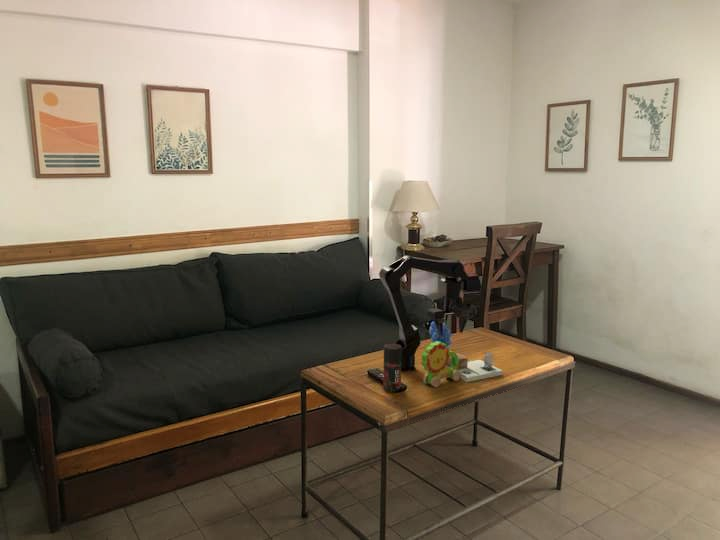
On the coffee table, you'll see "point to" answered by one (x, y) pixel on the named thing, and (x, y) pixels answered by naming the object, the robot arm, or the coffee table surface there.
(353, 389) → the coffee table surface
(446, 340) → the grapes
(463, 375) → the board
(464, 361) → the brown wooden block
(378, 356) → the coffee table surface
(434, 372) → the toy lion
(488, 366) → the pin
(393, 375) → the deodorant
